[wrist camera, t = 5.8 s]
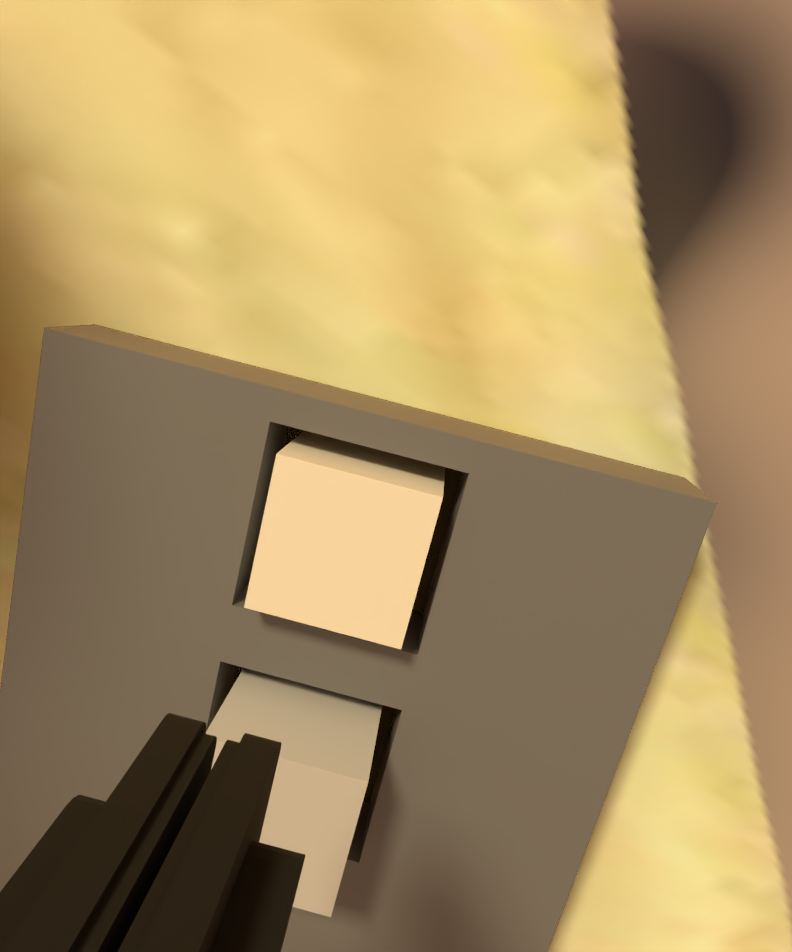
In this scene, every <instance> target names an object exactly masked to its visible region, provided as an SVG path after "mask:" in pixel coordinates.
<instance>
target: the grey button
mask: <svg viewBox="0 0 792 952" xmlns="http://www.w3.org/2000/svg"><path fill="white" fill-rule="evenodd" d="M381 710H382V705H381V704H377V703H373V702H370V701H366V700H362V699H358V698H355V697H351V696H347V695H344V694H340V693H336V692H332V691H329V690H325V689H321V688H318V687H314V686H310V685H306V684H303V683H299V682H295V681H292V680H288V679H284V678H280V677H277V676H273V675H269V674H266V673H262V672H258V671H254V670H251V669H247V668H243V670H242V671H241V673H240V675H239V676H238V678H237V680H236V682H235V683H234V685H233V687H232V688H231V690H230V692H229V694H228V695H227V697H226V699H225V700H224V702H223V704H222V706H221V707H220V709H219V711H218V712H217V714H216V716H215V718H214V719H213V721H212V723H211V724H210V726H209V728H208V730H207V731H206V734H209V735H213V736H216V737H217V743H216V748H215V753H214V758H213V763H212V767H213V765H214V763H215V762H216V760H217V758H218V756H219V754H220V752H221V750H222V748H223V746H224V744H225V742H226V741H227V740H232V741H235V742H239V743H240V741H241V739H242V737H243V735H244V734H245V733H248V734H251V735H255V736H259V737H263V738H267V739H270V740H274V741H278V742H281V750H280V755H279V759H278V763H277V768H276V772H275V776H274V780H273V785H272V789H271V793H270V798H269V802H268V806H267V811H266V815H265V819H264V823H263V828H262V832H261V836H260V841H259V842H260V843H264V844H267V845H271V846H275V847H279V848H282V849H286V850H290V851H294V852H297V853H301V854H305V855H306V856H305V860H304V864H303V868H302V872H301V876H300V880H299V883H298V887H297V891H296V895H295V899H294V903H293V907H295V908H299V909H303V910H306V911H310V912H313V913H317V914H321V915H324V916H328V917H331V915H332V911H333V907H334V904H335V900H336V897H337V893H338V889H339V886H340V882H341V879H342V875H343V871H344V868H345V864H346V861H347V857H348V853H349V850H350V846H351V842H352V839H353V835H354V832H355V828H356V824H357V821H358V817H359V814H360V810H361V806H362V803H363V799H364V796H365V792H366V788H367V785H368V781H369V775H370V770H371V765H372V759H373V754H374V748H375V743H376V737H377V732H378V727H379V721H380V716H381ZM211 769H212V768H211Z"/></svg>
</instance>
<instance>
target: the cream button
mask: <svg viewBox="0 0 792 952" xmlns="http://www.w3.org/2000/svg"><path fill="white" fill-rule="evenodd" d="M444 477H445V467H442V466H439V465H435V464H431V463H427V462H423V461H419V460H416V459H412V458H408V457H404V456H400V455H396V454H393V453H389V452H385V451H381V450H377V449H373V448H370V447H366V446H362V445H358V444H354V443H351V442H347V441H343V440H339V439H335V438H331V437H328V436H324V435H320V434H316V433H312V432H308V431H305V430H304V431H303V432H302V433H300V434H299V435H298V436H297V437H296V438H295V439H293V440H292V441H291V442H290V443H289V444H287V445H286V446H285V447H284V448H283V449H281V450H280V451H279V452H278V453H277V454H276V458H275V463H274V467H273V472H272V477H271V482H270V486H269V491H268V496H267V501H266V505H265V510H264V515H263V519H262V524H261V529H260V534H259V538H258V543H257V548H256V553H255V557H254V562H253V567H252V572H251V576H250V581H249V586H248V591H247V595H246V600H245V605H244V608H247V609H251V610H255V611H258V612H262V613H266V614H270V615H273V616H277V617H281V618H285V619H288V620H292V621H296V622H300V623H303V624H307V625H311V626H315V627H318V628H322V629H326V630H330V631H333V632H337V633H341V634H345V635H348V636H352V637H356V638H360V639H363V640H367V641H371V642H375V643H378V644H382V645H386V646H390V647H393V648H397V649H401V648H402V645H403V641H404V637H405V634H406V630H407V627H408V623H409V619H410V616H411V612H412V608H413V605H414V601H415V598H416V594H417V590H418V587H419V583H420V579H421V576H422V572H423V569H424V565H425V561H426V558H427V554H428V550H429V547H430V543H431V540H432V536H433V532H434V529H435V525H436V521H437V518H438V514H439V510H440V507H441V503H442V500H443V492H444Z"/></svg>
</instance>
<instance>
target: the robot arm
mask: <svg viewBox="0 0 792 952" xmlns="http://www.w3.org/2000/svg"><path fill="white" fill-rule="evenodd" d="M216 743H217V737H216V736H213V735H209V734H206V723H205V722H202V721H198V720H194V719H191V718H187V717H183V716H179V715H175V714H172V713H168V714H167V715H166V716H165V717H164V718H163V720H162V721H161V723H160V724H159V725H158V727H157V728H156V730H155V731H154V733H153V734H152V736H151V737H150V738H149V740H148V741H147V743H146V744H145V746H144V747H143V749H142V750H141V751H140V753H139V754H138V756H137V757H136V759H135V760H134V762H133V763H132V765H131V766H130V767H129V769H128V770H127V772H126V773H125V775H124V776H123V778H122V779H121V780H120V782H119V783H118V785H117V786H116V788H115V789H114V791H113V792H112V793H111V795H110V796H109V798H108V799H107V801H102V800H98V799H94V798H91V797H87V796H83V795H77V796H76V797H74V798H73V799H72V800H71V801H70V802H69V803H68V804H67V805H66V806H65V808H64V809H63V810H62V812H61V813H60V814H59V816H58V817H57V818H56V820H55V821H54V822H53V823H52V825H51V826H50V827H49V829H48V830H47V831H46V833H45V834H44V835H43V837H42V838H41V839H40V840H39V842H38V843H37V844H36V846H35V847H34V848H33V850H32V851H31V852H30V854H29V855H28V856H27V857H26V859H25V860H24V861H23V863H22V864H21V865H20V867H19V868H18V869H17V871H16V872H15V873H14V874H13V876H12V877H11V878H10V880H9V881H8V882H7V884H6V885H5V886H4V888H3V889H2V890H1V891H0V952H281V949H282V946H283V942H284V938H285V934H286V930H287V926H288V922H289V919H290V915H291V911H292V907H293V903H294V899H295V895H296V891H297V887H298V883H299V880H300V876H301V872H302V868H303V864H304V860H305V856H306V855H305V854H301V853H297V852H294V851H290V850H286V849H282V848H279V847H275V846H271V845H267V844H264V843H260V842H259V841H260V836H261V832H262V828H263V823H264V819H265V815H266V811H267V806H268V802H269V798H270V793H271V789H272V785H273V780H274V776H275V772H276V768H277V763H278V759H279V755H280V750H281V742H278V741H274V740H270V739H267V738H263V737H259V736H255V735H251V734H248V733H245V734H244V735H243V737H242V739H241V741H240V743H239V742H235V741H232V740H227V741H226V742H225V744H224V746H223V748H222V750H221V752H220V754H219V756H218V758H217V760H216V762H215V763H214V765H213V767H212V763H213V758H214V753H215V748H216ZM211 768H212V769H211Z"/></svg>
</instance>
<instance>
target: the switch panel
mask: <svg viewBox="0 0 792 952" xmlns="http://www.w3.org/2000/svg"><path fill="white" fill-rule="evenodd" d="M288 426H289V427H293V428H297V429H301V430H305V431H308V432H312V433H316V434H320V435H324V436H328V437H331V438H335V439H339V440H343V441H347V442H351V443H354V444H358V445H362V446H366V447H370V448H373V449H377V450H381V451H385V452H389V453H393V454H396V455H400V456H404V457H408V458H412V459H416V460H419V461H423V462H427V463H431V464H435V465H439V466H442V467H446V468H450V469H454V470H458V471H461V472H462V474H461V478H460V482H459V485H458V489H457V492H456V496H455V499H454V503H453V507H452V510H451V514H450V517H449V521H448V524H447V528H446V532H445V535H444V539H443V542H442V546H441V549H440V553H439V557H438V560H437V564H436V567H435V571H434V574H433V578H432V582H431V585H430V589H429V592H428V596H427V599H426V603H425V607H424V610H423V614H419V613H415V612H411V616H410V619H409V623H408V627H407V630H406V634H405V637H404V641H403V645H402V648H401V649H397V648H393V647H390V646H386V645H382V644H378V643H375V642H371V641H367V640H363V639H360V638H356V637H352V636H348V635H345V634H341V633H337V632H333V631H330V630H326V629H322V628H318V627H315V626H311V625H307V624H303V623H300V622H296V621H292V620H288V619H285V618H281V617H277V616H273V615H270V614H266V613H262V612H258V611H255V610H251V609H247V608H244V605H245V600H246V595H247V591H248V586H249V581H250V576H251V572H252V567H253V562H254V557H255V553H256V548H257V543H258V538H259V534H260V529H261V524H262V519H263V515H264V510H265V505H266V501H267V496H268V491H269V486H270V482H271V477H272V472H273V467H274V463H275V458H276V454H277V453H278V452H279V451H280V450H281V449H283V448H284V445H285V440H286V435H287V431H288ZM716 504H717V503H716V502H715V501H714V500H713V499H711V498H710V497H709V496H707V495H706V494H705V493H703V492H702V491H701V490H700V489H698V488H697V487H696V486H694V485H693V484H692V483H691V482H689V481H688V480H687V479H685V478H683V477H679V476H675V475H672V474H668V473H664V472H660V471H656V470H652V469H648V468H645V467H641V466H637V465H633V464H629V463H625V462H622V461H618V460H614V459H610V458H606V457H602V456H598V455H595V454H591V453H587V452H583V451H579V450H575V449H572V448H568V447H564V446H560V445H556V444H552V443H548V442H545V441H541V440H537V439H533V438H529V437H525V436H521V435H518V434H514V433H510V432H506V431H502V430H498V429H495V428H491V427H487V426H483V425H479V424H475V423H471V422H468V421H464V420H460V419H456V418H452V417H448V416H445V415H441V414H437V413H433V412H429V411H425V410H421V409H418V408H414V407H410V406H406V405H402V404H398V403H395V402H391V401H387V400H383V399H379V398H375V397H371V396H368V395H364V394H360V393H356V392H352V391H348V390H345V389H341V388H337V387H333V386H329V385H325V384H321V383H318V382H314V381H310V380H306V379H302V378H298V377H294V376H291V375H287V374H283V373H279V372H275V371H271V370H268V369H264V368H260V367H256V366H252V365H248V364H244V363H241V362H237V361H233V360H229V359H225V358H221V357H218V356H214V355H210V354H206V353H202V352H198V351H194V350H191V349H187V348H183V347H179V346H175V345H171V344H168V343H164V342H160V341H156V340H152V339H148V338H144V337H141V336H137V335H133V334H129V333H125V332H121V331H117V330H114V329H110V328H106V327H102V326H98V325H80V326H64V327H48V328H44V335H43V343H42V351H41V359H40V368H39V376H38V384H37V392H36V400H35V409H34V417H33V425H32V433H31V442H30V450H29V458H28V466H27V474H26V483H25V491H24V499H23V507H22V516H21V524H20V532H19V540H18V548H17V557H16V565H15V573H14V581H13V590H12V598H11V606H10V614H9V622H8V631H7V639H6V647H5V655H4V664H3V672H2V680H1V688H0V891H1V890H2V889H3V888H4V886H5V885H6V884H7V882H8V881H9V880H10V878H11V877H12V876H13V874H14V873H15V872H16V871H17V869H18V868H19V867H20V865H21V864H22V863H23V861H24V860H25V859H26V857H27V856H28V855H29V854H30V852H31V851H32V850H33V848H34V847H35V846H36V844H37V843H38V842H39V840H40V839H41V838H42V837H43V835H44V834H45V833H46V831H47V830H48V829H49V827H50V826H51V825H52V823H53V822H54V821H55V820H56V818H57V817H58V816H59V814H60V813H61V812H62V810H63V809H64V808H65V806H66V805H67V804H68V803H69V802H70V801H71V800H72V799H73V798H74V797H76V796H77V795H83V796H87V797H91V798H94V799H98V800H102V801H107V799H108V798H109V796H110V795H111V793H112V792H113V791H114V789H115V788H116V786H117V785H118V783H119V782H120V780H121V779H122V778H123V776H124V775H125V773H126V772H127V770H128V769H129V767H130V766H131V765H132V763H133V762H134V760H135V759H136V757H137V756H138V754H139V753H140V751H141V750H142V749H143V747H144V746H145V744H146V743H147V741H148V740H149V738H150V737H151V736H152V734H153V733H154V731H155V730H156V728H157V727H158V725H159V724H160V723H161V721H162V720H163V718H164V717H165V716H166V715H167V714H168V713H172V714H175V715H179V716H183V717H187V718H191V719H194V720H198V721H202V722H205V723H206V731H207V730H208V728H209V726H210V724H211V723H212V721H213V719H214V718H215V716H216V714H217V712H218V711H219V709H220V707H221V706H222V704H223V702H224V700H225V699H226V697H227V695H228V694H229V692H230V690H231V688H232V687H233V684H234V679H235V674H236V670H237V666H239V667H243V668H247V669H251V670H254V671H258V672H262V673H266V674H269V675H273V676H277V677H280V678H284V679H288V680H292V681H295V682H299V683H303V684H306V685H310V686H314V687H318V688H321V689H325V690H329V691H332V692H336V693H340V694H344V695H347V696H351V697H355V698H358V699H362V700H366V701H370V702H373V703H377V704H381V705H385V706H388V707H392V708H396V710H395V714H394V717H393V721H392V724H391V728H390V731H389V735H388V739H387V742H386V746H385V749H384V753H383V756H382V760H381V764H380V767H379V771H378V774H377V778H376V781H375V785H374V789H373V792H372V796H371V799H370V803H368V802H364V801H363V803H362V806H361V810H360V814H359V817H358V821H357V824H356V828H355V832H354V835H353V839H352V842H351V846H350V850H349V853H348V857H347V861H346V864H345V868H344V871H343V875H342V879H341V882H340V886H339V889H338V893H337V897H336V900H335V904H334V907H333V911H332V915H331V917H328V916H324V915H321V914H317V913H313V912H310V911H306V910H303V909H299V908H295V907H292V911H291V915H290V919H289V922H288V926H287V930H286V934H285V938H284V942H283V946H282V949H281V952H548V949H549V946H550V944H551V941H552V938H553V936H554V933H555V930H556V928H557V925H558V922H559V920H560V917H561V915H562V912H563V909H564V907H565V904H566V901H567V899H568V896H569V893H570V891H571V888H572V885H573V883H574V880H575V877H576V875H577V872H578V869H579V867H580V864H581V861H582V859H583V856H584V854H585V851H586V848H587V846H588V843H589V840H590V838H591V835H592V832H593V830H594V827H595V824H596V822H597V819H598V816H599V814H600V811H601V808H602V806H603V803H604V801H605V798H606V795H607V793H608V790H609V787H610V785H611V782H612V779H613V777H614V774H615V771H616V769H617V766H618V763H619V761H620V758H621V755H622V753H623V750H624V747H625V745H626V742H627V740H628V737H629V734H630V732H631V729H632V726H633V724H634V721H635V718H636V716H637V713H638V710H639V708H640V705H641V702H642V700H643V697H644V694H645V692H646V689H647V687H648V684H649V681H650V679H651V676H652V673H653V671H654V668H655V665H656V663H657V660H658V657H659V655H660V652H661V649H662V647H663V644H664V641H665V639H666V636H667V633H668V631H669V628H670V626H671V623H672V620H673V618H674V615H675V612H676V610H677V607H678V604H679V602H680V599H681V596H682V594H683V591H684V588H685V586H686V583H687V580H688V578H689V575H690V573H691V570H692V567H693V565H694V562H695V559H696V557H697V554H698V551H699V549H700V546H701V543H702V541H703V538H704V535H705V533H706V530H707V527H708V525H709V522H710V519H711V517H712V514H713V512H714V509H715V506H716Z"/></svg>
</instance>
